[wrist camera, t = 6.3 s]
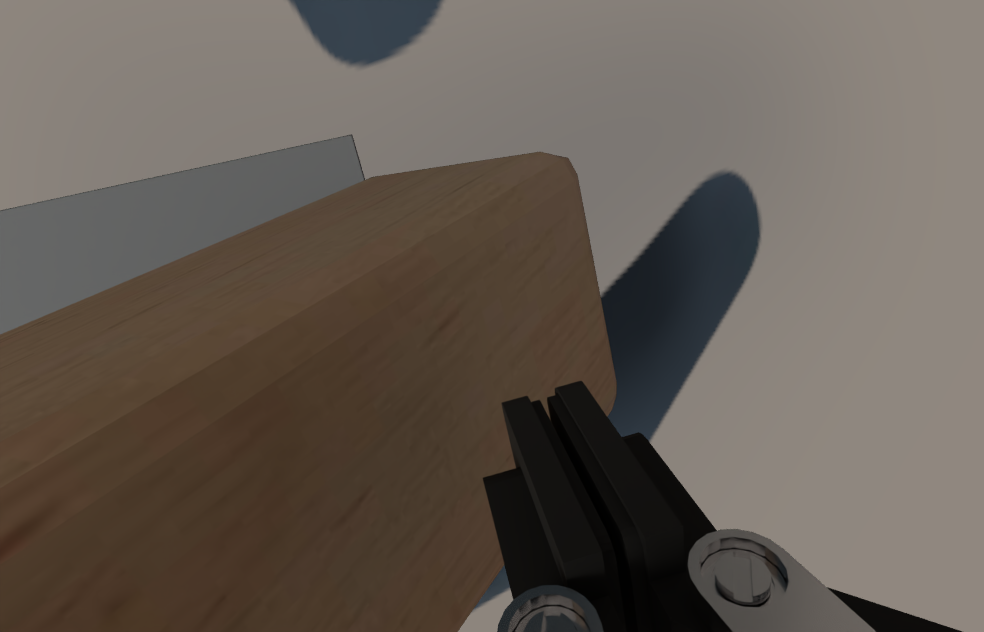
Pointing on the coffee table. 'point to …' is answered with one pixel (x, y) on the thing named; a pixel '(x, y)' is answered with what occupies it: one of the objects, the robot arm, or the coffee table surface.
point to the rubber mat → (153, 223)
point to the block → (297, 412)
